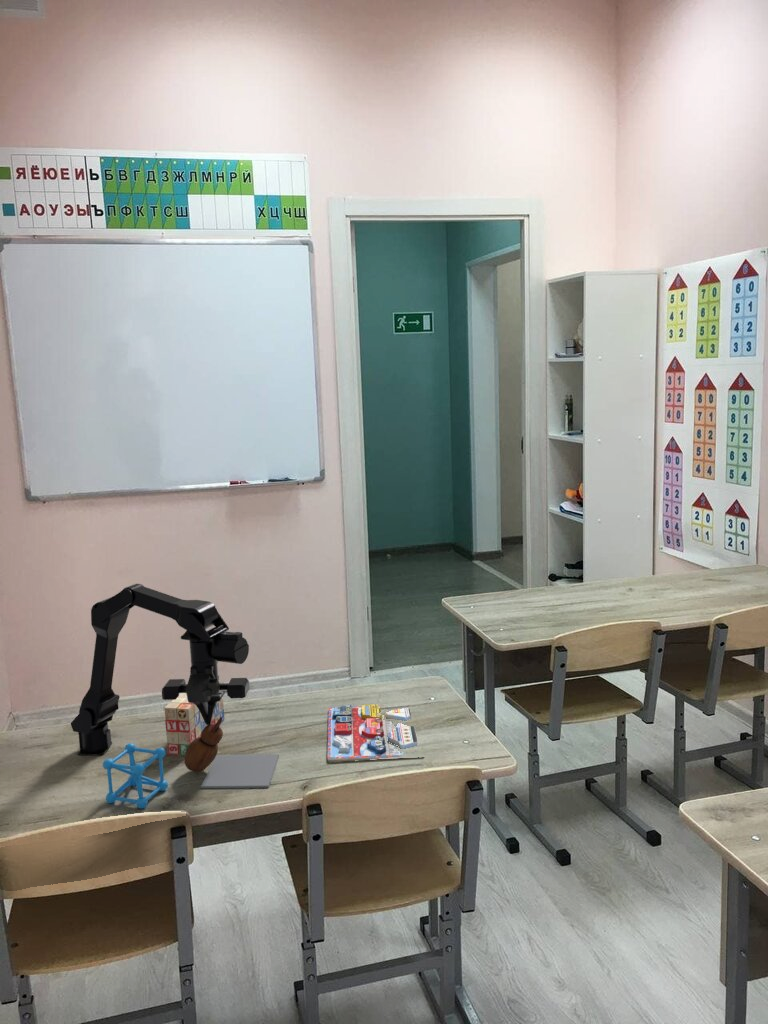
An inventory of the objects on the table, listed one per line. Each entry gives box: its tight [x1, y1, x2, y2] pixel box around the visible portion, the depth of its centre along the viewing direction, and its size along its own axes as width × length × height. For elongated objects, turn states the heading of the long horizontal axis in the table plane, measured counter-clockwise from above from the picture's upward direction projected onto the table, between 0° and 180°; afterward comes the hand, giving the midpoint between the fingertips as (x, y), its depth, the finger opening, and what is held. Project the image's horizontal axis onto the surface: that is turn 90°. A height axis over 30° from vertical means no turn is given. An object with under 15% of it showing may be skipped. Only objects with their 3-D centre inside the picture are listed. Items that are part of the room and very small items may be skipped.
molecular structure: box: [102, 742, 169, 809], centre depth 181 cm, size 10×10×10 cm
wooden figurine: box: [183, 717, 224, 773], centre depth 190 cm, size 7×6×15 cm
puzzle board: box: [327, 703, 418, 763], centre depth 210 cm, size 30×23×3 cm
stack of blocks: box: [164, 693, 225, 756], centre depth 210 cm, size 21×6×12 cm, turn 169°
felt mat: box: [200, 753, 280, 789], centre depth 191 cm, size 15×15×1 cm
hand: (208, 724), depth 189 cm, fingers closed
